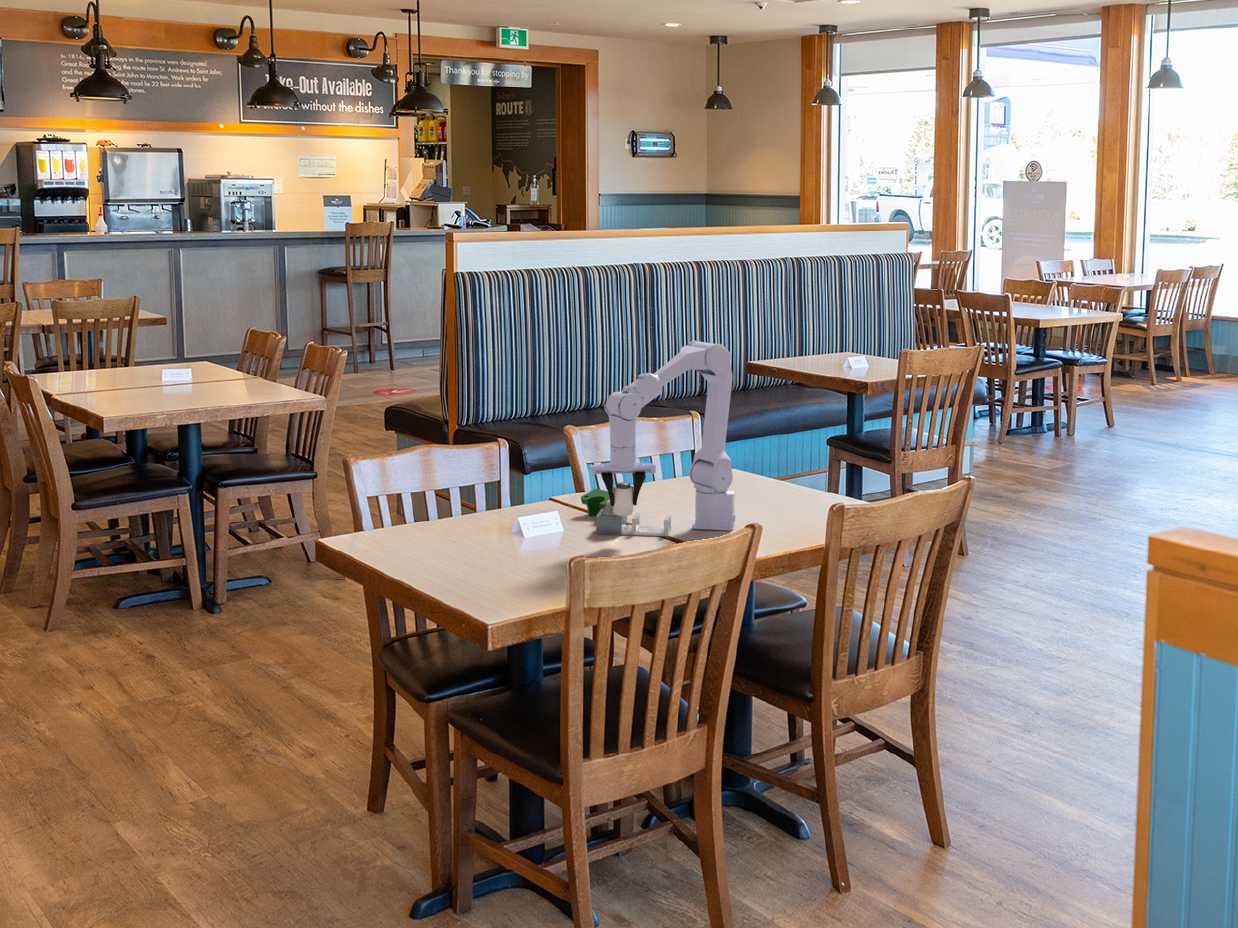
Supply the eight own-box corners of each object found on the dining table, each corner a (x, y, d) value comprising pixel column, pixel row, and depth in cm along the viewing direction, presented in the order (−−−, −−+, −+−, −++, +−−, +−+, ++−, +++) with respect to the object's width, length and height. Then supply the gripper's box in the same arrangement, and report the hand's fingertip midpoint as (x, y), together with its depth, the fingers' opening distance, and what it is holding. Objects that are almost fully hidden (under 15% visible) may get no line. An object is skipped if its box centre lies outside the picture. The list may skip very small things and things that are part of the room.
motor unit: (671, 529, 290) (671, 499, 289) (667, 537, 283) (667, 506, 282) (601, 526, 293) (601, 497, 292) (596, 534, 286) (596, 504, 285)
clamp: (590, 531, 305) (574, 499, 305) (608, 522, 309) (592, 489, 308) (616, 523, 296) (600, 489, 295) (634, 513, 299) (618, 479, 299)
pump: (634, 511, 280) (634, 482, 278) (631, 516, 275) (631, 486, 274) (615, 510, 280) (615, 481, 279) (611, 515, 276) (611, 485, 275)
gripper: (653, 441, 279) (653, 499, 282) (589, 443, 278) (590, 501, 281) (656, 447, 272) (656, 507, 275) (591, 449, 271) (592, 508, 274)
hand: (623, 504), depth 278 cm, fingers closed on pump, 4 cm apart
